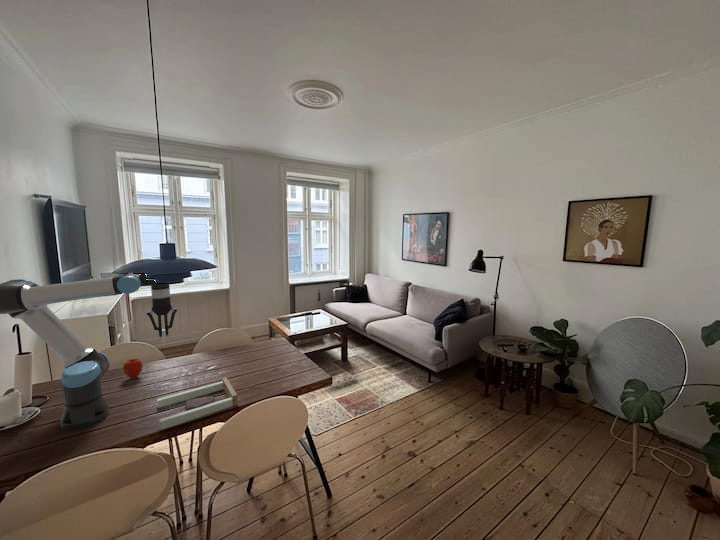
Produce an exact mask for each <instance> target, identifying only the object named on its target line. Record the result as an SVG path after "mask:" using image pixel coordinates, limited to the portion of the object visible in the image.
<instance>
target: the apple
mask: <svg viewBox="0 0 720 540" xmlns="http://www.w3.org/2000/svg"><path fill="white" fill-rule="evenodd" d="M122 370H123V373H124V374H125V375H126V376H127V377H128V378H130V379H137V378H138V376H140V373H141V371H142V370H143V363H142V361H141V360H140V359H139V358H130V359H128V360H126V361H125V362H124V364H123V365H122Z"/></svg>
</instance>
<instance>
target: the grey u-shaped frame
mask: <svg viewBox="0 0 720 540" xmlns="http://www.w3.org/2000/svg"><path fill="white" fill-rule="evenodd" d="M221 380H222V381H218V382H214V383H210V384H207V385H203V386H201V387H200V386H199V387H197V388H192V389H188V390H185V391H181V392H178V393H174V394H169V395H167V396H164V397H159V398H157V399H156V400H157V408H158V409H160V408H163V407H167V406H170V405H173V404H176V403H177V404H178V403H180V402H184V401H187V400H190V399H195V398H199V397H202V396H204V395H205V396H206V395H208V394H212V393H215V392H218V391H222V390H224V392H225V394H226V396H227V398H225V399H224V398H223V399H221V400H217V401H214V403H211V404H208V405H204V406H201V407H198V408H195V409H191V410H188V411H185V410H184V411H181V412H178V413H176V414H172V415H169V416H167V417H163V418H160V419H159V429H160V430H165V429H168V428H170V427H174V426H176V425H179V424H182V423H185V422H188V421H191V420H194V419H197V418H201V417H203V416H207V415H210V414H212V413H216V412H219V411H222V410H225V409H228V408H231V407H234V406H237V405H238V395H237V393H236V391H235V389H234V387H233V386H232V384H231V383H230V381H229V378H228V377H226V376H225V377H223V378H221Z"/></svg>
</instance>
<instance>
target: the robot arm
mask: <svg viewBox="0 0 720 540" xmlns="http://www.w3.org/2000/svg"><path fill="white" fill-rule="evenodd" d="M141 287H150V290H151V302H152V307H151V310H148V311H146V315H147V316H148V317H149V319H150V321H151V325H152V326H153V329H154V330H155V331H158V336H159V337H160V338H161V340H162V344H166V343H167V337H168V336H169V329H172V328H173V324H174V320H175V316H176V313H177V312H178V309H177V308H176V307H175V308H174V307H173V306H172V305H171V302H172V301H171V296H170V295H171V290H170V289H171V288H170V283H169V284H156V282H155V281H154V280H146V275H145V274H141V275H139V274H133V273H128V274H119V273H118V275H117V276H110V277H102V278H94V279H85V280H77V281H69V282H62V283H53V284H43V285H40V284H38V283H37V282H35V281H32V280H30V279H24V278H22V279H20V278H19V279H10V280H7V281H5V282H1V283H0V315H9V316H10V318H12V319H19V320H21V321H23V323H24V324H26V325H27V326H28V327H29V328H30V329H31V330H32V331H33V332H34V333H35V334H36V335H37V336H38V338H40V339H41V340H42V341H43V342H44V343H45V344H47V346H48V347H49V348H50V349H51V350H52V351H54V352H55V354H56V355H58V356H59V357H60V358H61V360H63V361H64V363H63V368H65V369H64V370H63V371H62V372H61V375H60V376H61V378H60V381H61V382H60V383H61V385H62V394H63V402H64V408H63V411H62V415H61V418H60V421H59V422H60V428H61V429H63V430H65V431H72V430H73V431H74V430H79V429H83V428H86V427H89V426H92V425H94V424H96V423H98V422H101V421H102V420H103V419H105V418H106V417H107V416H108V415H109V413H110V408H109V404H108V403H107V402H106V400H105V398H104V396H103V390H102V389H103V387H102V381H103V379H104V377H105V375H106V374H107V372H108V370H109V368H110V359H109V357H108V356H107V355H106V354H105V353H104V352H99V351H97V350H96V349H95V348H94V347H87V345H85V344H84V343H83V342H82V340H80V339H79V338H78V337H77V335H76V334H74V332H73V331H72V330H71V329H69V328H68V326H66V324H65V323H64V322H63V321H62V320H61V319H60V318H59V317H58V316H57V315H56V314H55V313H54V312H53V311H52V310H51V309H50V308H49V307H48V305H50V304H51V305H52V304H57V303H65V302H71V301H76V300H77V301H79V300H85V299H90V298H91V299H92V298H98V297H104V296H111V295H119V294H126V295H128V294H133V293H135V292H137V291H138V290H139V289H140V288H141ZM170 312H171V316H170V320H168V314H169V313H170ZM154 314H155V315H156V316H157V324H156V320H155V319H154V316H153V315H154ZM162 316H163V318H164V319H163V321H164V322H163V323H164V328H162V327H163V325H162ZM168 323H169V324H168Z"/></svg>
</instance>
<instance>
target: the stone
mask: <svg viewBox="0 0 720 540" xmlns="http://www.w3.org/2000/svg"><path fill="white" fill-rule="evenodd" d="M214 402H215V398H214V396H211V395H210V396H203V397H202V396H200V397H195V398H191V399H188V400H185V405H184V412H185V411H188V410H191V409H195V408H198V407H201V406H204V405H208V404H211V403H214Z"/></svg>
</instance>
